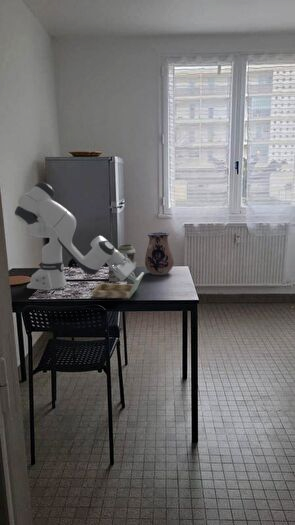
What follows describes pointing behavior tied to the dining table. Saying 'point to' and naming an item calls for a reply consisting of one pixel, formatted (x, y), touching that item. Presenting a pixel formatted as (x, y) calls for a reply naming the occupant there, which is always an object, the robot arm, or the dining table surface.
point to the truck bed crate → (112, 290)
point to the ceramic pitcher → (158, 254)
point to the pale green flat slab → (135, 285)
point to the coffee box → (112, 275)
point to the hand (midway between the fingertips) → (136, 280)
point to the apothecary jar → (128, 252)
